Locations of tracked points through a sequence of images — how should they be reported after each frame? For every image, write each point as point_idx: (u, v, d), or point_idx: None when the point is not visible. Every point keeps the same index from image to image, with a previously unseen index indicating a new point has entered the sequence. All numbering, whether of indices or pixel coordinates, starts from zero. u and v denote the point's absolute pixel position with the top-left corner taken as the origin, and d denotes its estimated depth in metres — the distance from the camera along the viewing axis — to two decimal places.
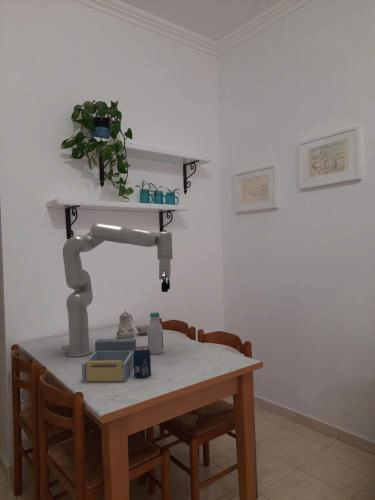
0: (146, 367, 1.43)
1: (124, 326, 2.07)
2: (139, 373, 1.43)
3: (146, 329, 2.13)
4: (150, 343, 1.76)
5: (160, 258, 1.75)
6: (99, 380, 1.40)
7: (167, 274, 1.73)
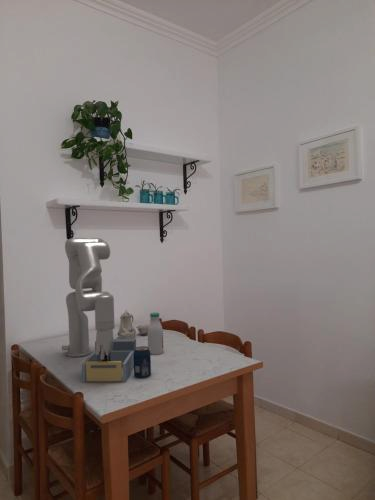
0: (147, 367, 1.43)
1: (125, 326, 2.07)
2: (139, 373, 1.43)
3: (147, 329, 2.13)
4: (150, 343, 1.76)
5: (98, 329, 1.40)
6: (99, 380, 1.40)
7: (106, 350, 1.38)
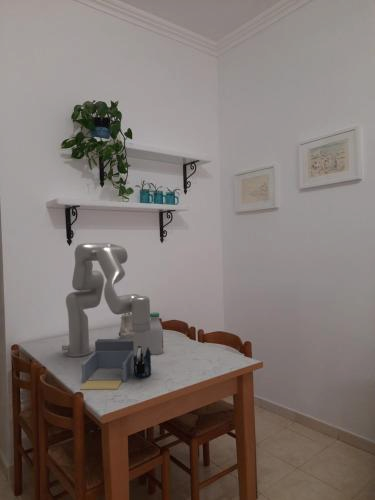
0: (147, 366, 1.43)
1: (126, 326, 2.06)
2: None
3: None
4: (150, 343, 1.76)
5: (135, 330, 1.43)
6: None
7: (143, 351, 1.41)
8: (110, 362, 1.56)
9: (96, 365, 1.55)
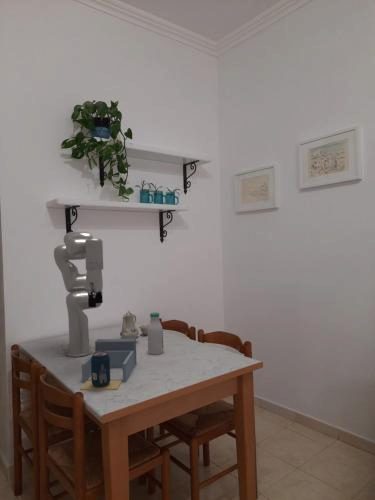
0: (104, 373, 1.33)
1: (127, 326, 2.06)
2: (96, 380, 1.33)
3: None
4: (150, 343, 1.76)
5: (88, 269, 1.54)
6: None
7: (95, 287, 1.53)
8: (110, 362, 1.56)
9: None
